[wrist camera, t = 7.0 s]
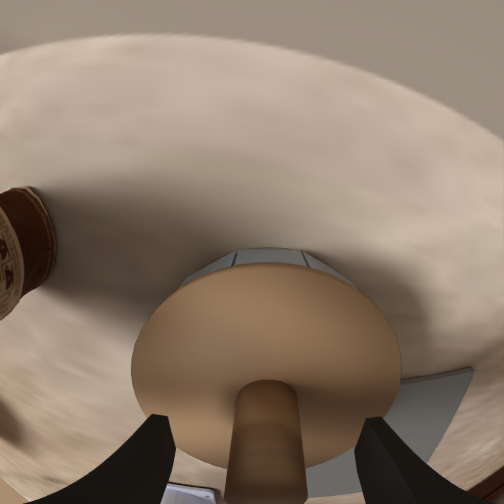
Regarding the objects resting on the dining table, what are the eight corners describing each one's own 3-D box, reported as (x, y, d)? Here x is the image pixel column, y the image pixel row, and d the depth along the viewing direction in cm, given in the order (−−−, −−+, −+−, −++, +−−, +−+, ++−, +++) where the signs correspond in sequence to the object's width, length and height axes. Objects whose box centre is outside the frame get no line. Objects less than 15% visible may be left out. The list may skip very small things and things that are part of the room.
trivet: (413, 476, 20) (414, 479, 19) (270, 495, 20) (270, 499, 20) (471, 366, 16) (474, 370, 16) (282, 387, 17) (282, 393, 16)
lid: (372, 450, 14) (396, 528, 8) (169, 458, 14) (146, 534, 9) (411, 252, 11) (505, 315, 5) (110, 269, 11) (19, 336, 6)
